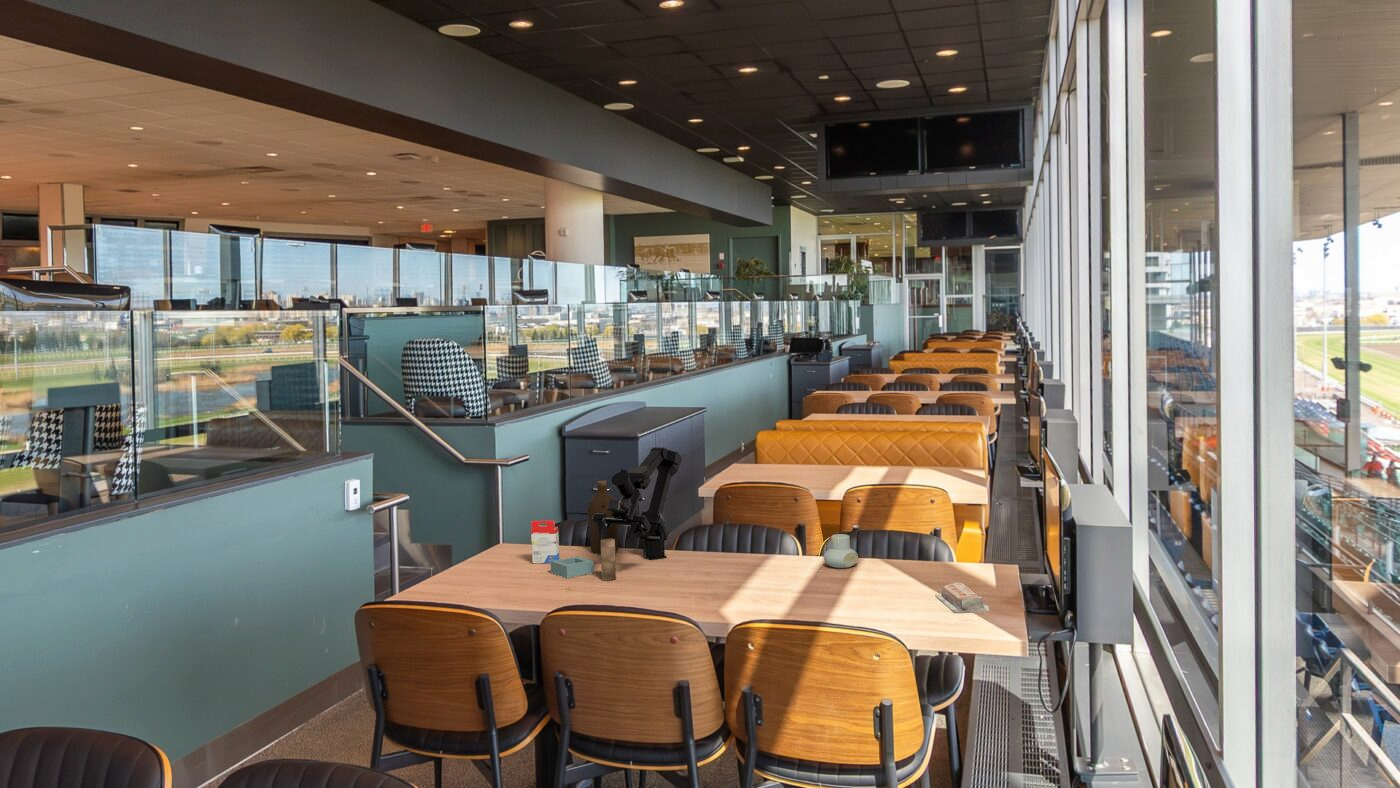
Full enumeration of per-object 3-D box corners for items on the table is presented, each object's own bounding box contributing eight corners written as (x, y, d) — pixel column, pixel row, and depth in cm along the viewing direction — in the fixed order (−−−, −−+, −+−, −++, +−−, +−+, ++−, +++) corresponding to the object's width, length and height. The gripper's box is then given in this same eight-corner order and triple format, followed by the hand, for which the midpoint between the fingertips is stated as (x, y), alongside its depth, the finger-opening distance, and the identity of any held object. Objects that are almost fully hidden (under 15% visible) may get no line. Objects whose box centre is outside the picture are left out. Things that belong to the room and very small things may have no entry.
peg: (612, 577, 336) (611, 537, 335) (618, 579, 332) (616, 540, 331) (599, 578, 334) (598, 539, 333) (605, 581, 330) (603, 541, 329)
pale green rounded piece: (839, 571, 335) (838, 540, 334) (819, 567, 341) (819, 536, 341) (862, 565, 342) (861, 534, 342) (842, 561, 349) (841, 531, 348)
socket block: (577, 568, 350) (576, 556, 350) (593, 573, 342) (593, 561, 342) (550, 573, 344) (550, 561, 343) (567, 578, 336) (566, 566, 335)
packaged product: (990, 595, 284) (954, 597, 283) (990, 613, 284) (954, 615, 284) (969, 579, 302) (934, 581, 301) (969, 596, 302) (934, 598, 301)
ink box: (560, 560, 362) (558, 517, 362) (556, 563, 358) (555, 520, 357) (535, 560, 363) (533, 518, 362) (531, 564, 358) (530, 520, 358)
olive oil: (625, 551, 374) (622, 480, 373) (599, 556, 368) (597, 484, 366) (609, 546, 383) (606, 477, 381) (583, 551, 376) (581, 481, 375)
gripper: (593, 488, 343) (577, 528, 334) (645, 490, 336) (630, 531, 326) (606, 508, 351) (590, 548, 341) (657, 511, 343) (642, 551, 334)
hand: (612, 544), depth 336 cm, fingers open, 9 cm apart
